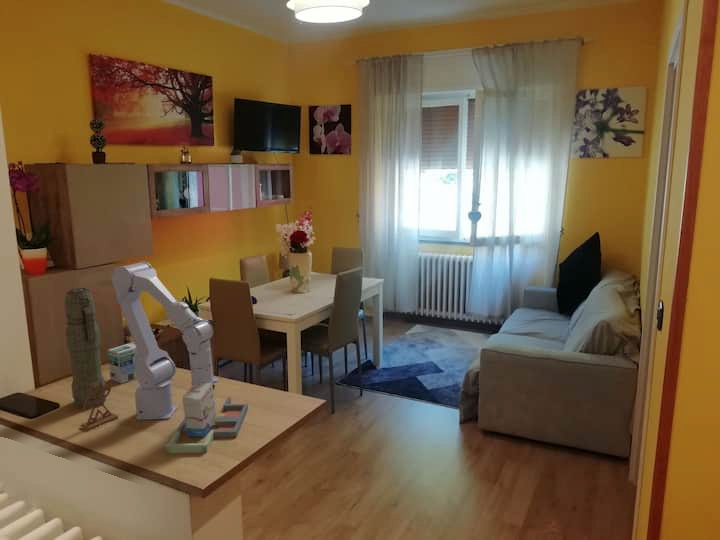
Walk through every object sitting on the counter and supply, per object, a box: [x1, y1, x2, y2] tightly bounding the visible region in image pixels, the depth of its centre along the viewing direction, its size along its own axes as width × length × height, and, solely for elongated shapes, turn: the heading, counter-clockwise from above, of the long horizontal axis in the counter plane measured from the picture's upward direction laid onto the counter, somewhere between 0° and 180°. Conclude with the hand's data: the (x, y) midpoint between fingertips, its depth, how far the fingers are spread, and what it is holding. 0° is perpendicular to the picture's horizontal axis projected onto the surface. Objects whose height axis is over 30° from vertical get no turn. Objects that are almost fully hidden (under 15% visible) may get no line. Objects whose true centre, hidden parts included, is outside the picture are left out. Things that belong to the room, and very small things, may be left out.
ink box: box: [182, 382, 218, 438], centre depth 142 cm, size 9×5×12 cm, turn 171°
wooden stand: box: [80, 382, 119, 431], centre depth 148 cm, size 9×4×12 cm, turn 148°
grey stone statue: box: [64, 287, 107, 409], centre depth 159 cm, size 9×12×35 cm
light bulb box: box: [107, 341, 139, 384], centre depth 181 cm, size 11×7×11 cm, turn 147°
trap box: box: [165, 396, 249, 454], centre depth 147 cm, size 16×30×2 cm, turn 2°
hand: (206, 411), depth 148 cm, fingers closed, pressing on ink box
